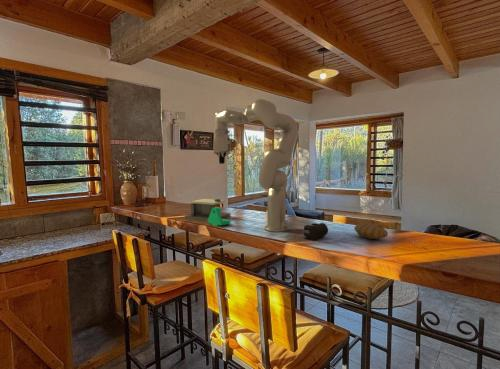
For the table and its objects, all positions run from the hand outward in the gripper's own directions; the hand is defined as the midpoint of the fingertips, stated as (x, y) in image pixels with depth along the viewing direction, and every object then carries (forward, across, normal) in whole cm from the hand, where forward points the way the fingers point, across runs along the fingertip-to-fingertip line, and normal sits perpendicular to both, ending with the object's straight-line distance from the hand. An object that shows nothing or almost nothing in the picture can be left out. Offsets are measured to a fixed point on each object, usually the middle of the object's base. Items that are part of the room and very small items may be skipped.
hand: (221, 163), depth 170 cm
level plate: (+25, +13, -5) cm, 29 cm away
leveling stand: (+35, +14, -5) cm, 38 cm away
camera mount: (+36, -4, +10) cm, 37 cm away
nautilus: (+35, -85, +5) cm, 92 cm away
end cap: (+35, -61, +18) cm, 73 cm away
